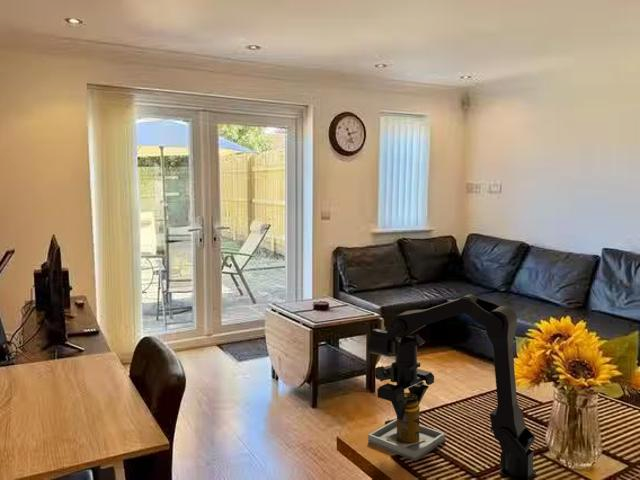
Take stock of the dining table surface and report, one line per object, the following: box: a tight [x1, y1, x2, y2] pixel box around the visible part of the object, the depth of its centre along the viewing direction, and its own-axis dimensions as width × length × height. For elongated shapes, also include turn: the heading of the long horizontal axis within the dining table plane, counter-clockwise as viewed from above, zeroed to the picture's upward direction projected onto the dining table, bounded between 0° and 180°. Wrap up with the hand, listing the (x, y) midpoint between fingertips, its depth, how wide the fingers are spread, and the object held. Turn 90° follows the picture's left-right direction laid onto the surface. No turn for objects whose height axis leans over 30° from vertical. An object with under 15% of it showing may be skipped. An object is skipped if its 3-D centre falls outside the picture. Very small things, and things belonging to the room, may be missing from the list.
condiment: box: [385, 392, 426, 448], centre depth 144 cm, size 7×8×12 cm
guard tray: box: [367, 418, 446, 462], centre depth 145 cm, size 15×14×2 cm
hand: (406, 415), depth 145 cm, fingers closed on condiment, 6 cm apart
